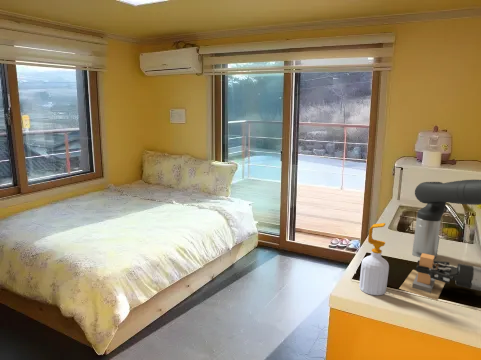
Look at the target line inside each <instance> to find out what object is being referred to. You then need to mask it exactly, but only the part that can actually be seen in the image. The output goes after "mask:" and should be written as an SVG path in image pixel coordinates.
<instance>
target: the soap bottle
mask: <svg viewBox="0 0 481 360" xmlns="http://www.w3.org/2000/svg"><path fill="white" fill-rule="evenodd" d="M385 226H386V223H385V222H380V223H374V224H372V225H371V226H370V228H369V230H368V238H367V242H368V243H369V244H370V245H373V247H374V248H372V249H371V252H370V255H367V256H366V257H363V258H362V260H361V266H360V276H359V286H358V287H359V290H361V291H362V292H364V293H365V294H368V295H371V296H382V295H385V294H386V293H387V286H388V277H389V272H390V271H389V270H390V265H389V262H388V261H387V260H386V259H385V258H383V257H382V253H383V251H382V249H380V248H381V247H384V246H385V245H386V242H385V241H382V240H377V239H374V238H373V229H376V228H377V229H378V228H384V227H385Z"/></svg>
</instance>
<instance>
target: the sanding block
mask: <svg viewBox="0 0 481 360" xmlns="http://www.w3.org/2000/svg"><path fill="white" fill-rule="evenodd" d="M434 257H435V256H434V255H429V254H425V253H422V254H421V256H420V257H419V260H420V263H419V266H424V267H429V268H433V264H434V261H435V259H434ZM435 258H436V257H435ZM434 283H435V279H433V278H430V276H429V275H428V274H425V273H420V272H418V274H417V276H416V278H415V280H414V282H413V285H412V288H415V289H419V290H423V291H426V292H430V293H431V291H432V289H433V286H434Z"/></svg>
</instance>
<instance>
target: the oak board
mask: <svg viewBox="0 0 481 360" xmlns="http://www.w3.org/2000/svg"><path fill="white" fill-rule="evenodd" d="M417 274H418V272H417V271H416V269H412V270H411V272H410V273H409V274H408V275H407V277H406V278H405V280H404V282H403V283H402V284H401V285H400V287H399V288H398V289H399V290H402V291H404V292H405V291H406V292H409V293H412V294H416V295H419V296H420V297H421V296H422V297H425V298H428V299H430V300H435V301H438V299H439V297H440V295H441V293H442V291H443V290H444V286H445V285H446V283H445V282H442V281H439V280H436V279H435V283H434V286H433V289H432V291H431V293H430V292H426V291H423V290H419V289H415V288H412V285H413V282H414V280H415V278H416V276H417ZM435 277H436V276H435Z"/></svg>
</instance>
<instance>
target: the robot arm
mask: <svg viewBox="0 0 481 360" xmlns="http://www.w3.org/2000/svg"><path fill="white" fill-rule="evenodd" d="M414 196H415V198H416V199H417V200H418V201H419V203H422V204H426V205H425V206H424V207H422V208H420V209H418V210H417V212H416V213H417V215H416V221H415V229H414V235H413V236H414V237H413V244H412V251H411V253H412V256H414V257H417V258H420V256H421V254H422V253H425V254H429V255H434V256H435V257H434V264H433V268H429V267H424V266H419V263H420V259H419V260H417V262H416V263H417V264H416V269H415V270H416V271H417V272H420V273H425V274H428V275H429V276H430V278H433V279H436V280H439V281H442V282H445V284H450V281H455V285H456V286H457V287H462V288H467V289H471V290H476V291H481V267H480V266H474V265H470V264H465V263H464V264H463V263H458V264H457V266H456V267H455V266H453V265H450V262H448V261H443V260H442V261H440V260H435V259H436V258H437V256H438V252H439V243H440V235H439V233H440V227H441V221H442V216H443V215H444V212H445V209H446V203H449V204H456V205H457V204H458V205H469V206H470V205H471V206H472V205H473V206H476V205H481V179H462V180H454V181H448V182H444V183H443V182H442V181H423V182H421V183H419V184H418V185H417V186H416V187H415V189H414ZM435 276H436V277H435Z"/></svg>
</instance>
